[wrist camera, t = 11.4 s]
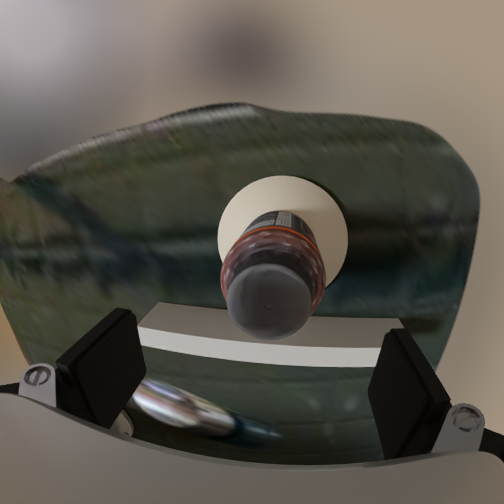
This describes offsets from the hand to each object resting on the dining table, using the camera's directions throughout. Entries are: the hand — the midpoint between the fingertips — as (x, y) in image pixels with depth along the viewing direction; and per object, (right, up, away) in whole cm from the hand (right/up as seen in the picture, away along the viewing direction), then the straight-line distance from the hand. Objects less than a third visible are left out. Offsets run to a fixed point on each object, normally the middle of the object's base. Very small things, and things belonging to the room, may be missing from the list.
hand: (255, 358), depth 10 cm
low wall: (+2, -3, +17) cm, 17 cm away
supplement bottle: (+2, +4, +14) cm, 15 cm away
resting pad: (+3, +5, +14) cm, 15 cm away
